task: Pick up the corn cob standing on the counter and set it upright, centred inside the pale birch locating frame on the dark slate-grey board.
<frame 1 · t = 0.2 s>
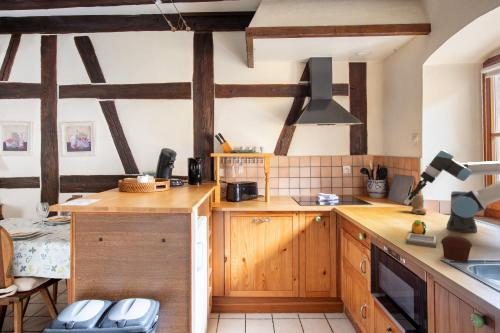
hand: (407, 202, 189), 16 cm above the countertop, tool tilted 35°, fingers open, 13 cm apart
muffin: (455, 258, 136), on the countertop
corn: (418, 234, 175), on the countertop
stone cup: (417, 213, 237), on the countertop
board: (421, 241, 161), on the countertop
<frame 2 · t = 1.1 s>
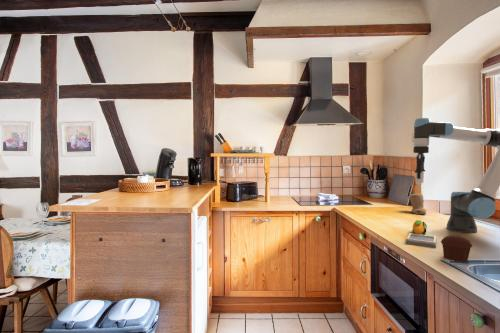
hand: (419, 183, 174), 29 cm above the countertop, tool pointing down, fingers open, 13 cm apart
nothing on the countertop moved.
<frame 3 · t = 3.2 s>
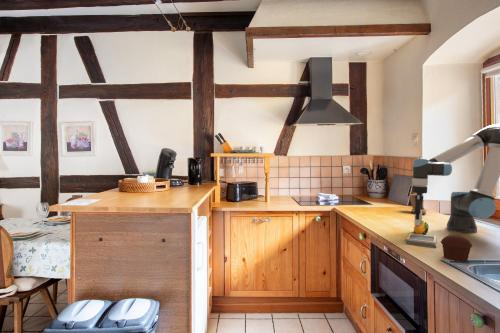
hand: (418, 223, 175), 6 cm above the countertop, tool pointing down, fingers open, 13 cm apart
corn: (420, 235, 175), on the countertop, touching gripper
everything else where it was.
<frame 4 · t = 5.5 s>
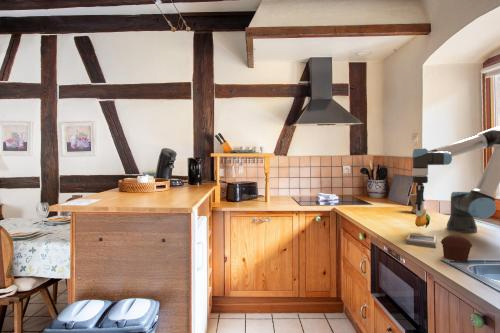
hand: (419, 214, 175), 11 cm above the countertop, tool pointing down, fingers closed on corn, 11 cm apart
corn: (422, 227, 174), point 5 cm above the countertop, touching gripper
everything else where it was.
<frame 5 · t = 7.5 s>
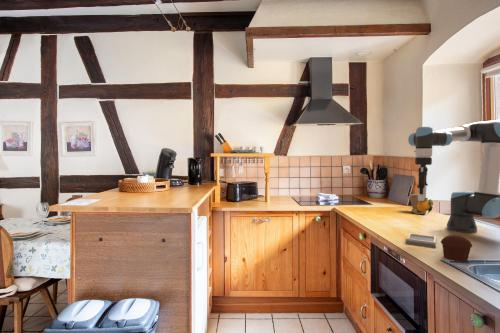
hand: (422, 199, 160), 22 cm above the countertop, tool pointing down, fingers closed on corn, 11 cm apart
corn: (424, 213, 159), point 15 cm above the countertop, touching gripper
everything else where it was.
when the fingers open (9 cm above the countertop, at t = 9.9 s): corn stays where it is, resting on board.
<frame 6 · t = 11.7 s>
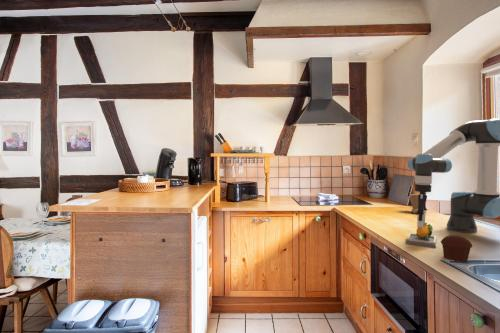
hand: (421, 224, 160), 9 cm above the countertop, tool pointing down, fingers open, 13 cm apart
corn: (424, 238, 159), point 3 cm above the countertop, touching board, gripper
everything else where it was.
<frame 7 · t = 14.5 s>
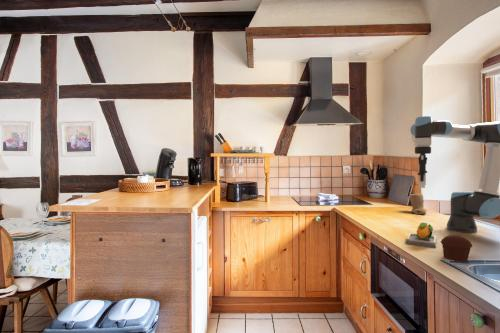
hand: (422, 186, 164), 29 cm above the countertop, tool pointing down, fingers open, 13 cm apart
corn: (424, 238, 159), point 2 cm above the countertop, touching board
everything else where it was.
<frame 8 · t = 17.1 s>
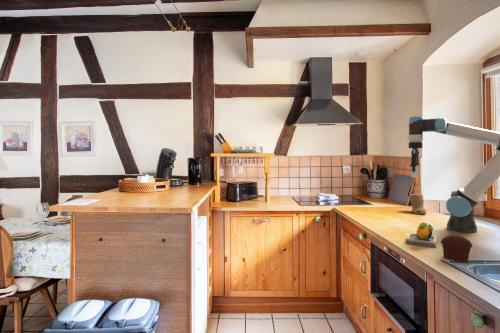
hand: (414, 176, 190), 32 cm above the countertop, tool pointing down, fingers open, 13 cm apart
nothing on the countertop moved.
at the end: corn 1.8 cm from the board (horizontally); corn touching board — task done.
